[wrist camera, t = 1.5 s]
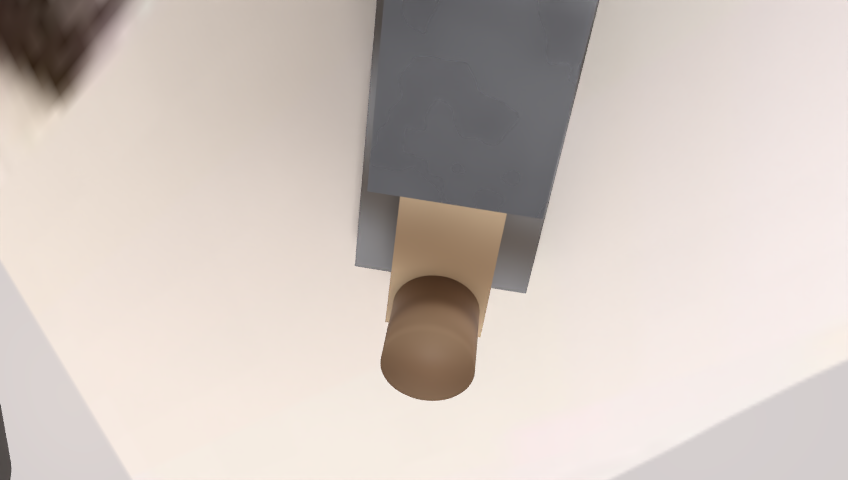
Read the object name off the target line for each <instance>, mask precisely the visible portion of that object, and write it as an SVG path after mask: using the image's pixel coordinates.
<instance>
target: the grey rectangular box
mask: <svg viewBox="0 0 848 480" xmlns="http://www.w3.org/2000/svg"><path fill="white" fill-rule="evenodd" d="M596 4H597V0H384V5H383V17H382V28H381V39H380V51H379V62H378V74H377V85H376V96H375V108H374V119H373V130H372V142H371V153H370V164H369V176H368V187H367V191H368V192H374V193H381V194H387V195H393V196H400V197H406V198H412V199H419V200H425V201H431V202H438V203H444V204H450V205H456V206H463V207H469V208H475V209H482V210H488V211H494V212H501V213H507V214H513V215H520V216H526V217H532V218H538V219H543V216H544V212H545V208H546V204H547V200H548V196H549V192H550V188H551V184H552V180H553V176H554V172H555V168H556V164H557V160H558V156H559V152H560V148H561V144H562V140H563V136H564V132H565V128H566V124H567V120H568V116H569V112H570V108H571V104H572V100H573V96H574V92H575V88H576V84H577V80H578V76H579V72H580V68H581V64H582V60H583V56H584V52H585V48H586V44H587V40H588V36H589V32H590V28H591V24H592V20H593V16H594V12H595V8H596Z"/></svg>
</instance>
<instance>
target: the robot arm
mask: <svg viewBox="0 0 848 480" xmlns="http://www.w3.org/2000/svg"><path fill="white" fill-rule="evenodd" d="M10 477H11V461H10V455H9V450H8V444H7V438H6V433H5V427H4V422H3V416H2V411H1V405H0V480H10Z"/></svg>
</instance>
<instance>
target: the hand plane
mask: <svg viewBox="0 0 848 480" xmlns="http://www.w3.org/2000/svg"><path fill="white" fill-rule="evenodd" d="M598 3H599V0H597V4H596V8H595V12H594V16H593V20H592V24H591V28H590V32H589V36H588V40H587V44H586V48H585V52H584V56H583V60H582V64H581V68H580V72H579V76H578V80H577V84H576V88H575V92H574V96H573V100H572V104H571V108H570V112H569V116H568V120H567V124H566V128H565V132H564V136H563V140H562V144H561V148H560V152H559V156H558V160H557V164H556V168H555V172H554V176H553V180H552V184H551V188H550V192H549V196H548V200H547V204H546V208H545V212H544V216H543V219H538V218H532V217H526V216H520V215H513V214H507V213H501V212H494V211H488V210H482V209H475V208H469V207H463V206H456V205H450V204H444V203H438V202H431V201H425V200H419V199H412V198H406V197H400V196H393V195H387V194H381V193H374V192H368V191H367V187H368V176H369V164H370V153H371V142H372V130H373V119H374V108H375V96H376V85H377V74H378V62H379V51H380V39H381V28H382V17H383V5H384V0H377V6H376V18H375V30H374V43H373V55H372V67H371V79H370V91H369V103H368V115H367V127H366V139H365V151H364V163H363V175H362V187H361V200H360V212H359V224H358V236H357V248H356V260H355V266H358V267H364V268H371V269H377V270H383V271H389V272H391V278H390V287H389V295H388V304H387V312H386V321H385V322H389V324H388V328H387V333H386V338H385V342H384V347H383V351H382V356H381V370H382V373H383V375H384V377H385V378H386V380H387V381H388V382H389V383H390V385H391V386H393V387H394V388H395V389H396V390H398V391H399V392H401V393H403V394H405V395H407V396H410V397H413V398H416V399H420V400H428V401H437V400H445V399H449V398H452V397H454V396H457V395H458V394H460V393H462V392H463V391H465V390H466V389H467V388H468V387H469V385H470V384H471V382H472V380H473V378H474V373H475V362H476V350H477V338H478V337H480V336H481V331H482V327H483V322H484V317H485V313H486V308H487V303H488V299H489V294H490V290H491V288H495V289H501V290H508V291H514V292H520V293H526V291H527V287H528V283H529V279H530V275H531V271H532V267H533V263H534V259H535V255H536V251H537V247H538V243H539V239H540V235H541V231H542V227H543V223H544V219H545V215H546V211H547V207H548V203H549V199H550V195H551V191H552V187H553V183H554V179H555V175H556V171H557V167H558V163H559V159H560V155H561V151H562V147H563V143H564V139H565V135H566V131H567V127H568V123H569V119H570V115H571V111H572V107H573V103H574V99H575V95H576V91H577V87H578V83H579V79H580V75H581V71H582V67H583V63H584V59H585V55H586V51H587V47H588V43H589V39H590V35H591V31H592V27H593V23H594V19H595V15H596V11H597V7H598Z"/></svg>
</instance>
